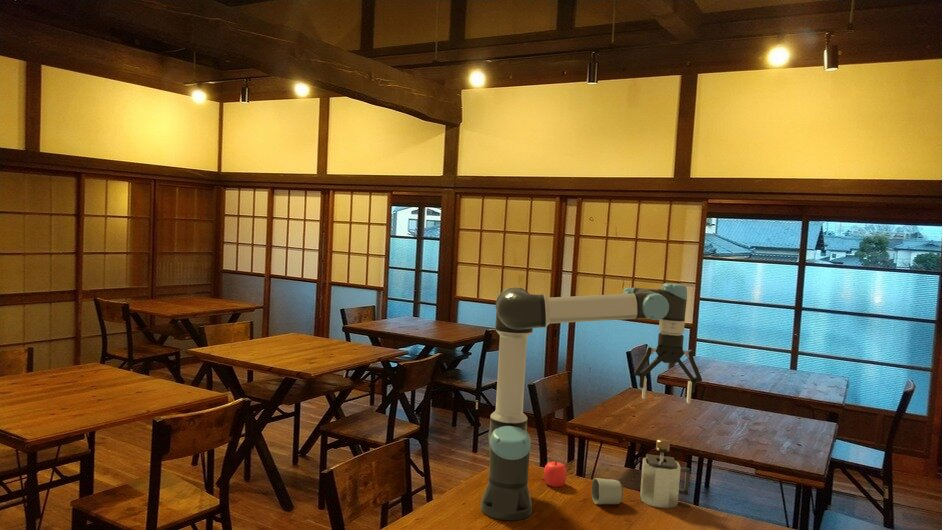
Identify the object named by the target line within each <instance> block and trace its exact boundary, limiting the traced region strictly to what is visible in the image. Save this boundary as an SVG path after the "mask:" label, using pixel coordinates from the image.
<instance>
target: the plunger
mask: <svg viewBox="0 0 943 530" xmlns="http://www.w3.org/2000/svg"><path fill="white" fill-rule="evenodd" d="M655 443H656V444H655V450H656V451H658V452H660V455H659V456H660V462H663V458H664V456H665V453H668V452H670V444H671V441H670V440H669V439H666V438H656V441H655ZM659 468H663V467H659Z"/></svg>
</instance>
